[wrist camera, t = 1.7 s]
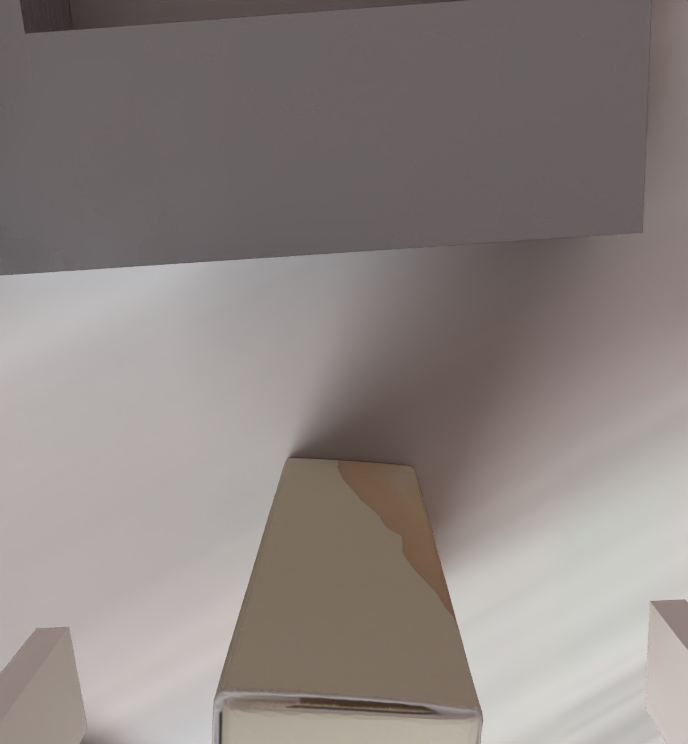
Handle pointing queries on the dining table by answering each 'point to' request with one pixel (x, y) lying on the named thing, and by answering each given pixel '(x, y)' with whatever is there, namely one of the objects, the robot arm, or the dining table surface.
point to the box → (346, 620)
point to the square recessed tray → (318, 131)
